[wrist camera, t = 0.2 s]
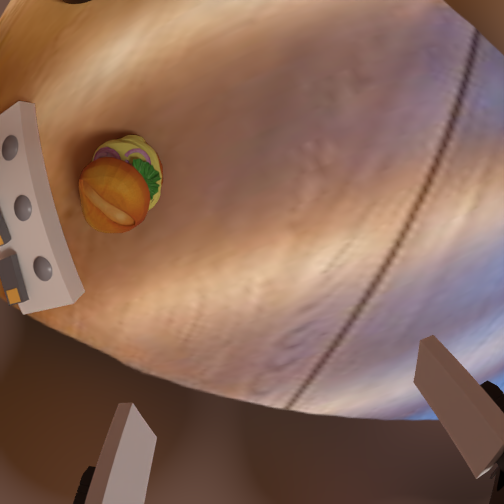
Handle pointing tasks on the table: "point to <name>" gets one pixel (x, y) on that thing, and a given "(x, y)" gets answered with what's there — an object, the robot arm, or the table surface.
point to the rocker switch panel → (33, 215)
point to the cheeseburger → (120, 184)
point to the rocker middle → (3, 232)
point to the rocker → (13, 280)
